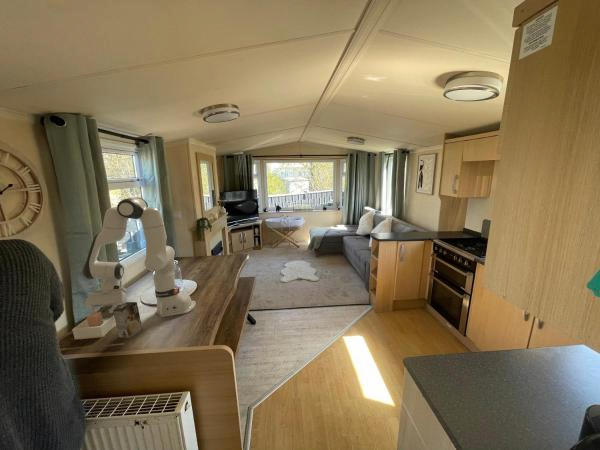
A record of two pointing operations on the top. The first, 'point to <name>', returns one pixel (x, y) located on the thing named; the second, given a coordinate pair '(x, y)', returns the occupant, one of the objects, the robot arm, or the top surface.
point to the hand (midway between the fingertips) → (101, 313)
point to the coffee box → (127, 319)
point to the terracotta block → (95, 319)
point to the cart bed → (93, 329)
